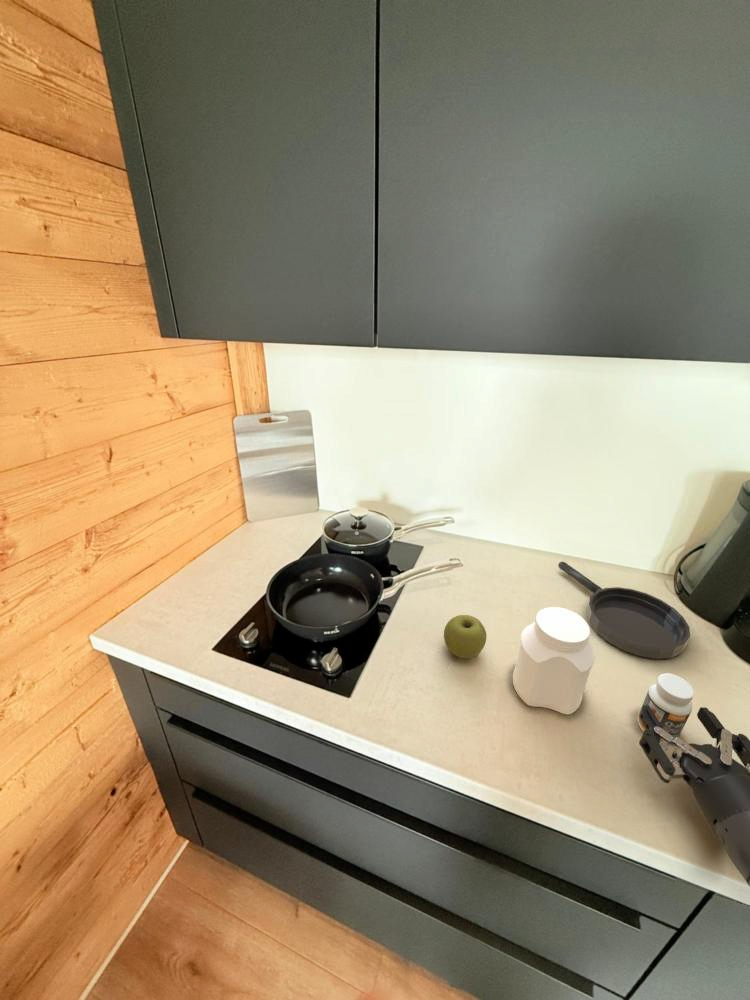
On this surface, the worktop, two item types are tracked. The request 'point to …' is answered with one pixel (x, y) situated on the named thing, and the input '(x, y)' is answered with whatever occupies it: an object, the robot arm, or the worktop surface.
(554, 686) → the jar
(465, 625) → the apple
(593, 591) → the pan handle
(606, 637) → the pan
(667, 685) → the pill bottle
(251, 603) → the worktop surface
